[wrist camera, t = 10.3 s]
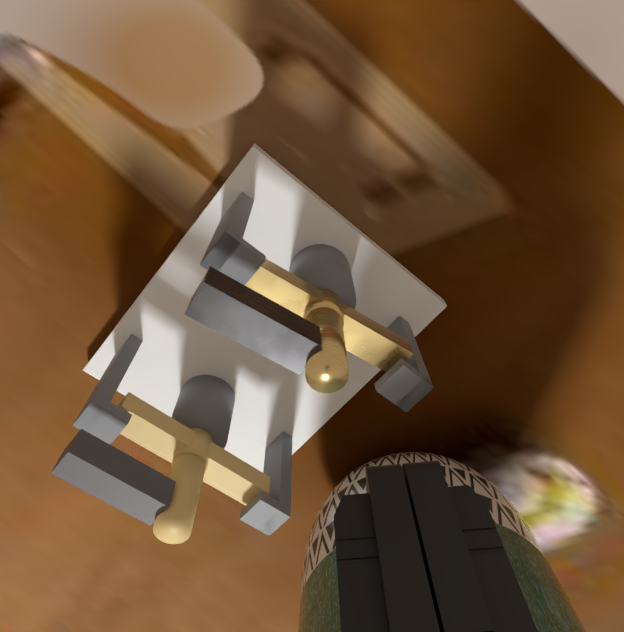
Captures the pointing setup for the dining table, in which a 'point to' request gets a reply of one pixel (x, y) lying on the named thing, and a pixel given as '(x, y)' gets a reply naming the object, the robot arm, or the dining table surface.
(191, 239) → the lock board
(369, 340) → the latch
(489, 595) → the robot arm
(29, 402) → the dining table surface
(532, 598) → the planter
